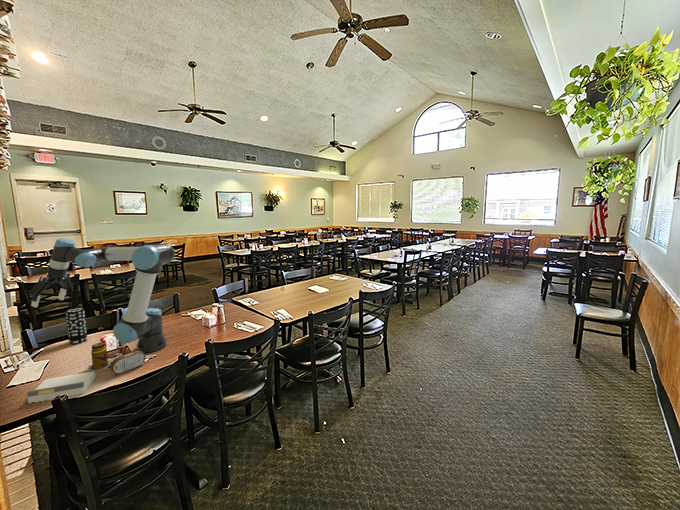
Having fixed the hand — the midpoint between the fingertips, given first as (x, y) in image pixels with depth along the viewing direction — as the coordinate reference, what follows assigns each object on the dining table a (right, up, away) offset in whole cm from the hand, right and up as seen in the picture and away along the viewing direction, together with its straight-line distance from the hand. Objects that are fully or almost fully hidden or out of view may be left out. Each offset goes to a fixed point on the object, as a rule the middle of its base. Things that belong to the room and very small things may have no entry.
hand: (47, 302), depth 156 cm
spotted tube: (-2, -27, +20) cm, 34 cm away
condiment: (+33, -32, -7) cm, 47 cm away
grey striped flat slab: (+34, -34, -27) cm, 55 cm away
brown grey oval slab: (+51, -33, -10) cm, 61 cm away
